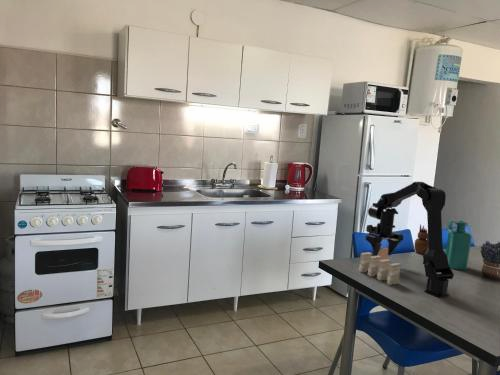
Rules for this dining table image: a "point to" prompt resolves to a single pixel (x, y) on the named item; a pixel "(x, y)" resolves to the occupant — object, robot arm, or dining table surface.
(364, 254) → the domino
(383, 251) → the domino
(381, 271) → the domino
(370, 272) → the domino
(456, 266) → the teal tall bottle
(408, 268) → the dining table surface
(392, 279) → the domino
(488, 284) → the dining table surface
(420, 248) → the wooden figurine
